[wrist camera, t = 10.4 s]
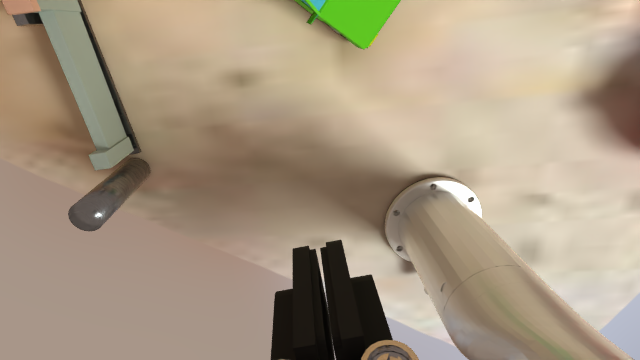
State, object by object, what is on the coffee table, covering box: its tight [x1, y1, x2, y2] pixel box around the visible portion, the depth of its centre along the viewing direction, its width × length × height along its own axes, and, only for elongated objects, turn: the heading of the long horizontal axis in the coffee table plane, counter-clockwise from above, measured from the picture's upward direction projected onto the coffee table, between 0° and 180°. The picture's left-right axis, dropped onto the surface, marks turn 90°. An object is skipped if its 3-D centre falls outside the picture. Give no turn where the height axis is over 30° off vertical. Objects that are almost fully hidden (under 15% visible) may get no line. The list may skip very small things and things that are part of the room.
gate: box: [2, 0, 134, 170], centre depth 32 cm, size 16×2×7 cm, turn 8°
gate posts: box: [12, 0, 150, 231], centre depth 31 cm, size 23×4×11 cm, turn 9°
